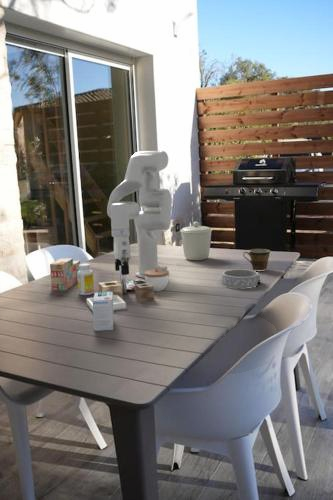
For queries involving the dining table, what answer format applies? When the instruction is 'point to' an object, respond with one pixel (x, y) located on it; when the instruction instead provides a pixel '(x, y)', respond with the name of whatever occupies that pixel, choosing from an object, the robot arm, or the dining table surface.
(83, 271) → the supplement bottle
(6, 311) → the dining table surface
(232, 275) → the dog bowl
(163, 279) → the lidded jar
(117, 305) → the tray
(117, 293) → the oak block
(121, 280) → the steel pin
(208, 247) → the canister
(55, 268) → the stack of blocks
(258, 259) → the ceramic cup
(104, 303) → the light bulb box
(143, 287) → the walnut block
